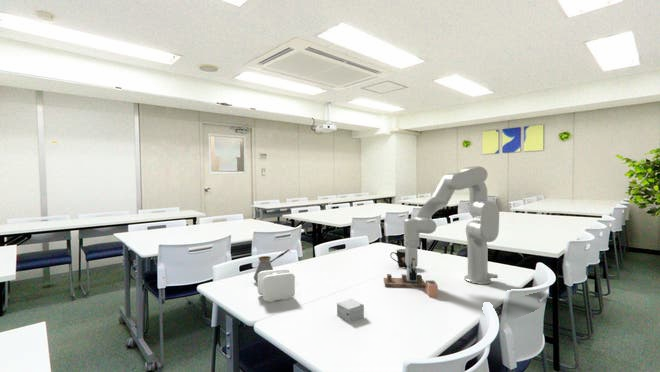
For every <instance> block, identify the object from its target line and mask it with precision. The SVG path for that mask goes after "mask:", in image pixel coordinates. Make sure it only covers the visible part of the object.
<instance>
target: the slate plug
mask: <svg viewBox="0 0 660 372" xmlns="http://www.w3.org/2000/svg"><path fill="white" fill-rule="evenodd" d="M411 269H412V268H411ZM417 275H418V270H417V269H416V281H417ZM406 276H407V279H408V281H411V280H410V267H407V268H406Z"/></svg>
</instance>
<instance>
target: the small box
mask: <svg viewBox="0 0 660 372" xmlns="http://www.w3.org/2000/svg"><path fill="white" fill-rule="evenodd" d="M336 307H337V308H336V316H338V317H340V318H342V319H343V320H344V321H346V322H348V323H350V322H354V321H357V320H359V319H362V318H365V305H364V304H363V303H362V302H359V301H358V300H355V299H353V298H350V299H346V300H342V301H340V302H337V303H336Z"/></svg>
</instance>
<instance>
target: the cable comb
mask: <svg viewBox="0 0 660 372" xmlns="http://www.w3.org/2000/svg"><path fill="white" fill-rule="evenodd" d="M383 284H384V287H385V288H412V287H414V288H415V289H419V288H420V289H426V281H424V279H423V276H422V275H421V274H417V281H408V279H407V273H406V274H405V273H404V274H403V273H402V274H401V277H393V276H392V274H390V273H387V274H386V277H383Z"/></svg>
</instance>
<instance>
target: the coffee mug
mask: <svg viewBox="0 0 660 372" xmlns="http://www.w3.org/2000/svg"><path fill="white" fill-rule="evenodd" d="M392 254H395V255H396V257H397V260H396V259H395V258H393V257H392ZM389 255H390V258H391V259H392V260H393V261H395V262H396V263H397V267H398V266H399V267H398V268H400V267H408V266H407V265H406V263H405V248H398V249H396V252H394V251H393V252H391V253H390V254H389Z"/></svg>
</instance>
